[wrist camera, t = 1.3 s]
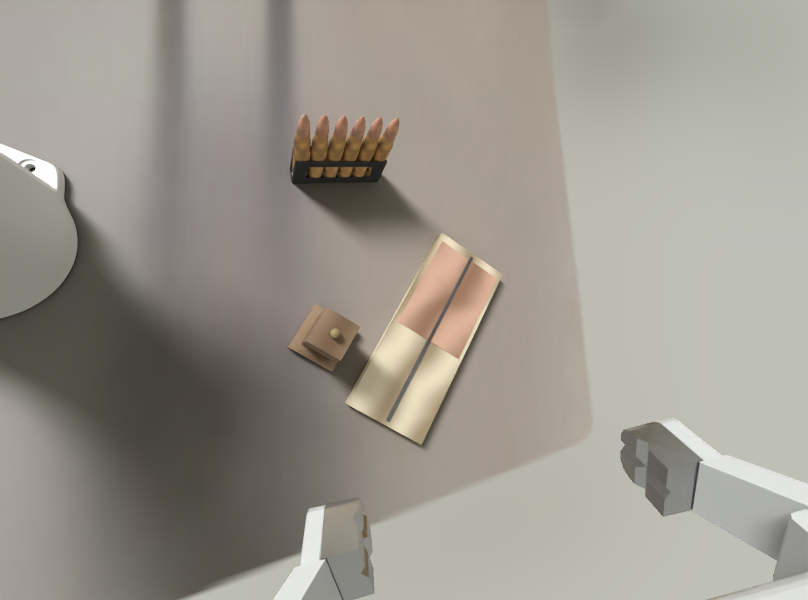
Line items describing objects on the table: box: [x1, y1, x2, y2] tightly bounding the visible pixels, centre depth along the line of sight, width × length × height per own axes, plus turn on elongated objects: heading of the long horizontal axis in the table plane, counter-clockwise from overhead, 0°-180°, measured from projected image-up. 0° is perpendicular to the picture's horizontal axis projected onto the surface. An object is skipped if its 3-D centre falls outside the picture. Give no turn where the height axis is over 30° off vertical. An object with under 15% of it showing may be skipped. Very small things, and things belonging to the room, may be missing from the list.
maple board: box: [345, 233, 502, 445], centre depth 46 cm, size 10×24×2 cm, turn 149°
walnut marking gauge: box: [288, 304, 360, 372], centre depth 37 cm, size 6×6×11 cm
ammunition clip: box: [290, 114, 399, 183], centre depth 40 cm, size 11×2×12 cm, turn 99°
